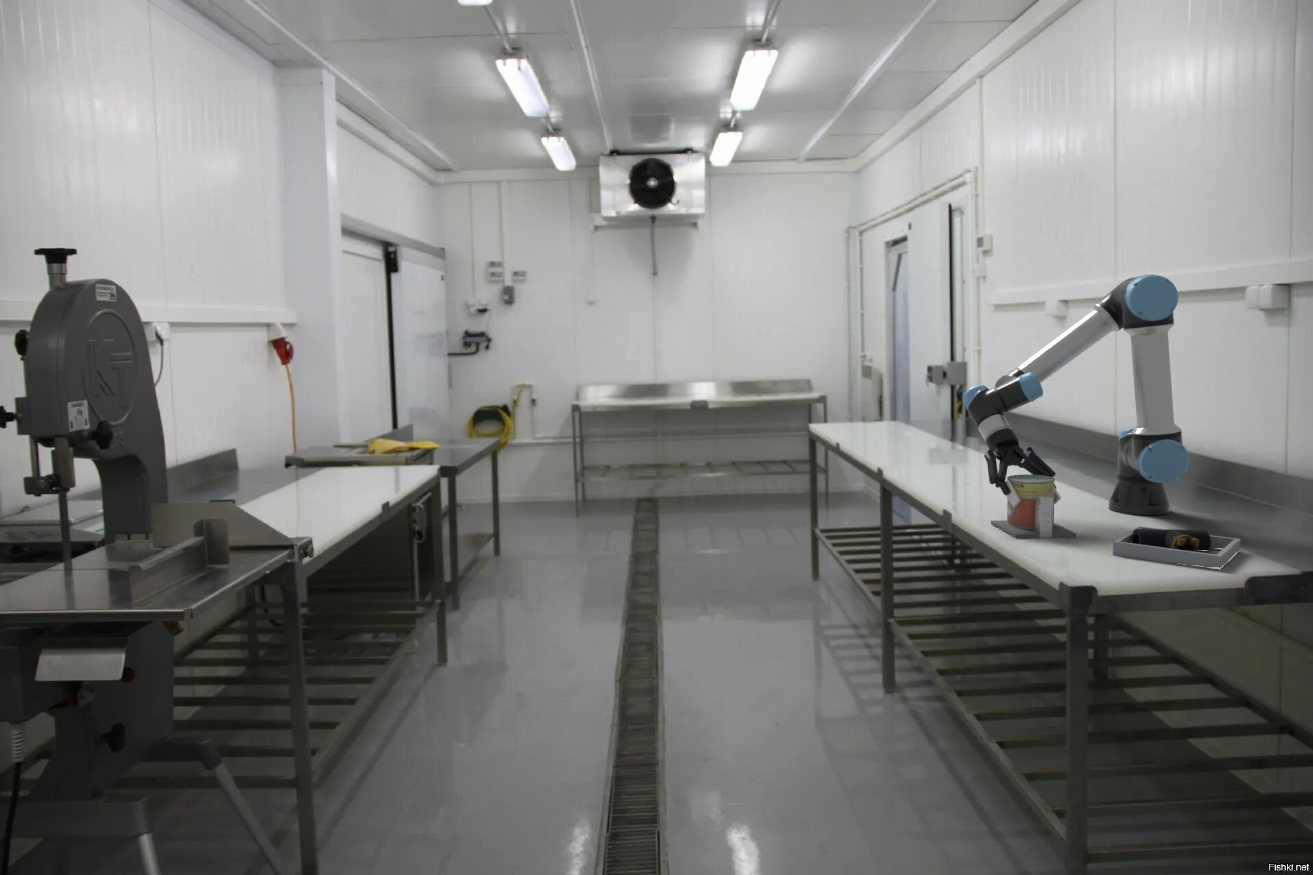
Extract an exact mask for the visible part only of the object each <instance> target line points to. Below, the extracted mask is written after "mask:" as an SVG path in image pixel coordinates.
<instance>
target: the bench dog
mask: <svg viewBox="0 0 1313 875" xmlns="http://www.w3.org/2000/svg"><path fill="white" fill-rule="evenodd" d="M1052 521H1053V497H1051V496H1048V495H1036V509H1035V532H1037V533H1039V534H1040V539H1044V538H1045V539H1048V538H1049V539H1050V538H1052Z"/></svg>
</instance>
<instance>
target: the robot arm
mask: <svg viewBox="0 0 1313 875" xmlns="http://www.w3.org/2000/svg"><path fill="white" fill-rule="evenodd" d="M1178 302H1179V292H1178V289H1177V288H1176V286H1175V284H1174V282H1172V281H1171V280H1170V279H1168V278H1167V277H1165V276H1162V275H1159V274H1148V273H1147V274H1143V275H1139V276H1134V277H1129V278H1126V279H1125V280H1123V281H1121V282H1120V283H1119V284H1118V285H1117V286H1115V287H1114V288H1113V289H1112V290H1111V291H1110V292H1108V293H1107V294H1106V295H1105V296H1104V297H1103V298H1101V299H1100V300H1099V301H1098V302H1096V303H1095V304H1094V305H1093V309H1092V311H1090V312H1089V313H1087V314H1086V315H1085V316H1084V317H1083V318H1081V319H1080V320H1078V321H1077V322H1075V323H1074V324H1073V325H1072V326H1070V327H1069V328H1068V329H1066V330H1065V331H1064V332H1063V333H1060V334H1059V335H1058V336H1057V337H1056V338H1054V339H1053V340H1051V341H1050V342H1049V343H1047V345H1045V346H1043V347H1042V348H1041V349H1039V350H1037V352H1036V353H1035V354H1032V355H1031V357H1029V358H1028V359H1026V360H1025V361H1023V362H1022V363H1021V364H1020V365H1018V366H1017V367H1016V368H1014V369H1013V370H1011V371H1010V372H1009V373H1008V374H1005V375H1003V376H1001V377H999V378H998V379H997V380H996V382H995V383H994V387H993V388H988V386H986V385H984V384H983V385H982V384H980V385H975V386H972V387H971V388H969V389H968V390H967V391H966V392H965V393H964V395H963V398H962V400H963V401H962V402H963V404H964V406H965V408H966V410H967V412H968V415H969V416H970V417H971V420H972V421H973V423H974V424H975V427H976V428H977V430H978V432H979V433H980V434H981V437H982V438H983V440H984V442H985V443H986V446H987V448H988V450H987V451H986V453H985V454H984V455H983V457H984V458H985V461H986V464H987V465H986V466H987V473H988V481H989V484H990V485H994V487H996V488H997V489H999V488H1000V490H1001V492H1002V494H1003V495H1004V496H1006V499H1007V498H1008V499H1009V501H1010V503H1011V505H1012V507H1016V506H1017V505H1018V504H1019V503H1020V502H1021V500H1020V499H1019V497H1018V495H1017V493H1016V492H1015V490H1014V488H1013V486H1012V484H1011V483H1010V481H1009V480H1006V479H1007V474H1008V473H1007V472H1008V468H1009V467H1011V466H1015V467H1016V466H1018V467H1019V468H1021V469H1025V470H1026V471H1027V472H1028V473H1030V475H1044V476H1050V477H1053V478H1055V476H1056V474H1057V473H1056V472H1055V471H1054V470H1053V469H1052V468H1051V467H1050V466H1049V465H1048V464H1047V463H1046V462H1045V461H1044V460H1043V459H1042V458H1041V457H1040V456H1039V455H1038V454H1037V453H1036V452H1035V450H1034V449H1033V448H1032V447H1031V446H1028V447H1027V448H1026V449H1023V448H1022V447H1021V446H1020V445H1019V444H1020V443H1019V439H1018V436H1017V435H1016V433H1015V432H1014V430H1013V429H1012V426H1011V425H1010V423H1009V422H1008V420H1007V418H1006V416H1005V414H1007V413H1009V412H1011V411H1013V410H1015V409H1018V408H1020V407H1022V406H1024V405H1026V404H1029V403H1031V402H1032V403H1033V402H1034V401H1036V400H1038V399H1039V398H1042V397H1043V395H1044V390H1043V387H1042V384H1041V383H1043V382H1044V381H1046V380H1047V379H1048V378H1050V377H1052V376H1053V375H1054V374H1055V373H1057V372H1058V371H1060V370H1061V369H1063V368H1064V367H1065V366H1067V365H1068V364H1069V363H1071V362H1072V361H1073V360H1075V359H1076V358H1077V357H1079V356H1080V355H1082V354H1083V353H1084V352H1086V351H1087V350H1088V349H1090V348H1091V347H1092V346H1093V345H1094V346H1095V344H1097V343H1098V342H1099V341H1101V340H1102V339H1103V338H1104V337H1106V336H1108V334H1110V333H1111V332H1120V331H1121V330H1122V329H1123V332H1125V333H1127V334H1128V335H1129V336H1130V343H1131V344H1130V348H1131V360H1132V361H1131V362H1132V374H1133V375H1132V376H1133V388H1134V400H1135V401H1134V402H1135V403H1134V404H1135V415H1136V427H1135V428H1124V429H1122V430H1120V432H1119V436H1118V439H1117V440H1118V441H1117V442H1118V453H1117V454H1118V455H1117V471H1116V472H1117V474H1116V483H1115V485H1114V488H1113V490H1112V493H1111V495H1110V497H1109V499H1108V509H1109V510H1111V511H1114V512H1118V513H1123V514H1129V515H1130V514H1131V515H1139V516H1157V515H1158V516H1161V515H1167V514H1170V511H1171V509H1170V508H1171V504H1170V500H1169V497H1168V494H1167V490H1166V487H1165V484H1169V483H1172V482H1175V481H1176V480H1178V479H1180V478H1181V477H1182V476H1184V474H1185V473H1186V472H1187V470H1188V468H1189V466H1190V455H1189V452H1188V450H1187V448H1186V447H1185V445H1184V444H1183V433H1182V428H1181V427H1179V425H1177V424H1175V419H1174V418H1175V417H1174V415H1175V413H1174V401H1173V386H1172V384H1173V383H1172V370H1171V358H1170V344H1169V343H1170V342H1169V332H1170V330H1171V329H1172V327H1174V325H1175V317H1174V311H1175V309H1176V307H1177V306H1178ZM997 460H998V461H999V464H998V462H997ZM1061 499H1062V497H1061V495H1060V494H1059V492H1058V490H1057V486H1056V484H1055V483H1054V505H1056V504H1057V503H1058V502H1059V501H1060V500H1061Z"/></svg>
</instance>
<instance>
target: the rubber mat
mask: <svg viewBox="0 0 1313 875" xmlns="http://www.w3.org/2000/svg"><path fill="white" fill-rule="evenodd" d="M991 524H992V525H991ZM990 525H991V526H993V527H995V528H997V529H998V528H999V529H998V530H1000V531H1002V530H1003V531H1002V532H1003V533H1005V534H1007V533H1008V534H1007V535H1009V536H1011V537H1012V536H1013V537H1012V538H1014V537H1015V538H1014V539H1039V538H1040V534H1039V533H1037V532H1035V529H1023V528H1016V527H1012V526H1009V525H1008V524H1007V519H1006V520H1003V519H1002V520H990ZM1052 538H1053V539H1054V538H1058V539H1060V538H1067V539H1068V538H1077V533H1076V532H1074V531H1072V530H1070V529H1068V528H1066V527H1064V526H1061V525H1059V524H1058V523H1055V522H1054V526H1053V527H1052ZM1040 539H1041V538H1040Z"/></svg>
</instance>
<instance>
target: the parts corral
mask: <svg viewBox="0 0 1313 875" xmlns="http://www.w3.org/2000/svg"><path fill="white" fill-rule="evenodd" d="M1135 529H1157V528H1154V527H1146V526H1138V527H1136V528H1133V530H1131V531H1129V532H1127V533H1125V534H1124V535H1123V536H1121V537H1119V538H1117V539H1116V540H1114V541H1113V544H1112V555H1114V556H1119V557H1125V556H1126V557H1127V558H1133V559H1140V560H1146V561H1152V562H1153V561H1154V562H1159V561H1161V562H1160V563H1166V562H1168V564H1173V563H1180V564H1186V565H1185V566H1187V565H1199V566H1204V567H1219V568H1220V567H1222V565H1224V564H1225V563H1226V562H1227V561H1228V560H1229V559H1230V558H1231V557H1232V556H1233V555H1234V554H1235V553H1236V552H1238V551H1239V550H1240V551H1241V538H1236V537H1227V536H1219V535H1211V534H1209V535H1210V539H1211V545H1210V548H1222V549H1223V548H1224V549H1223V550H1219V552H1218V553H1217V554H1215V553H1214V554H1213V553H1207V552H1201V551H1198V552H1192V551H1185V550H1177V549H1170V548H1163V547H1155V546H1148V545H1141V544H1133V543H1132V535H1133V531H1134V530H1135ZM1180 564H1179V565H1180Z"/></svg>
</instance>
